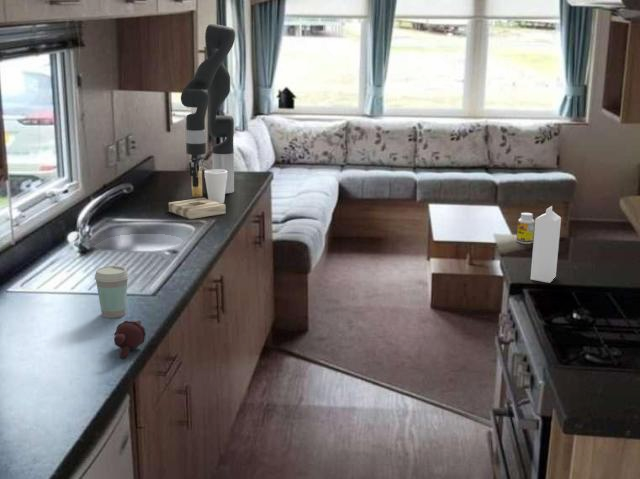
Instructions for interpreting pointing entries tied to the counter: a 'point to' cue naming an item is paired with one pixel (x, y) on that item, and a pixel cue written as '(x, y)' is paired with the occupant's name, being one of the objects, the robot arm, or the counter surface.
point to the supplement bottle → (525, 228)
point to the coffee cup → (112, 290)
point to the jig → (197, 208)
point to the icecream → (129, 336)
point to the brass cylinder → (198, 190)
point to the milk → (545, 246)
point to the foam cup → (216, 184)
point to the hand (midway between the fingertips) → (196, 185)
